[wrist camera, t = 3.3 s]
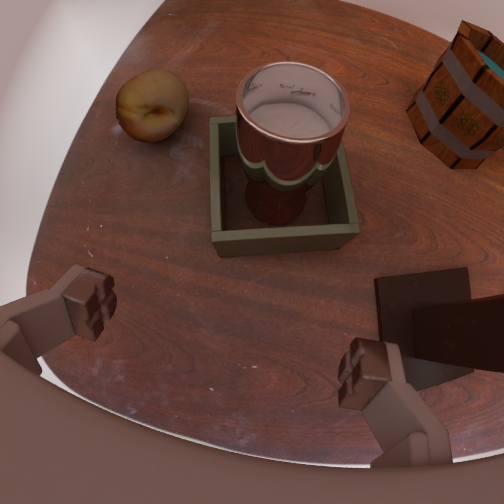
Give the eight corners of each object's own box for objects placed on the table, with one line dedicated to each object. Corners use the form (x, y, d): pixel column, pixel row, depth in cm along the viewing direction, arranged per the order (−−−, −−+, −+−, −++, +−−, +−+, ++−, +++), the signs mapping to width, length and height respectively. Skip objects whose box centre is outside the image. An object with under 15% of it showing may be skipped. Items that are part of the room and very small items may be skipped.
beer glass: (238, 168, 31) (229, 60, 16) (304, 163, 31) (337, 59, 16) (243, 232, 29) (236, 150, 14) (315, 226, 29) (368, 145, 15)
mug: (407, 150, 31) (471, 71, 17) (403, 78, 34) (443, 5, 20) (514, 200, 30) (582, 158, 16) (501, 128, 33) (551, 80, 19)
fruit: (125, 158, 31) (97, 118, 23) (139, 102, 33) (119, 59, 25) (190, 154, 31) (174, 109, 23) (198, 97, 33) (187, 50, 25)
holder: (219, 257, 29) (211, 241, 23) (215, 150, 31) (209, 117, 25) (340, 249, 29) (360, 232, 23) (323, 146, 31) (335, 113, 25)
